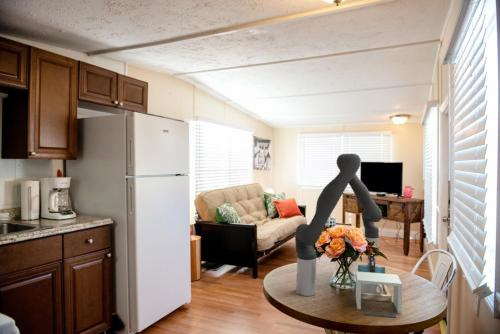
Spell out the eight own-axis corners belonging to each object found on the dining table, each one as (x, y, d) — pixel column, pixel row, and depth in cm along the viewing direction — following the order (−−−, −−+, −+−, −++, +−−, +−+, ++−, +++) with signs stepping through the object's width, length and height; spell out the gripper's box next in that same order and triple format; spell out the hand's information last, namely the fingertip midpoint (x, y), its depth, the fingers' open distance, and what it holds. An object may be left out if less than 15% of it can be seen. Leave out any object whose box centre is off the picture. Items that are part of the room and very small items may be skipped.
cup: (387, 298, 160) (387, 281, 160) (377, 301, 156) (377, 284, 156) (368, 290, 169) (368, 274, 169) (357, 294, 165) (357, 277, 165)
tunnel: (357, 308, 148) (357, 280, 148) (355, 298, 160) (355, 271, 160) (401, 313, 144) (402, 283, 144) (396, 302, 155) (397, 274, 155)
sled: (360, 298, 159) (361, 279, 159) (357, 281, 182) (357, 264, 182) (391, 301, 156) (391, 282, 156) (384, 283, 179) (384, 266, 179)
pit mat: (365, 314, 143) (365, 313, 143) (364, 312, 145) (364, 311, 145) (396, 318, 140) (396, 317, 140) (395, 315, 142) (395, 314, 142)
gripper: (363, 242, 187) (362, 272, 188) (365, 248, 173) (364, 281, 174) (377, 243, 186) (377, 273, 186) (380, 249, 172) (380, 283, 172)
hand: (371, 277), depth 180 cm, fingers open, 5 cm apart
